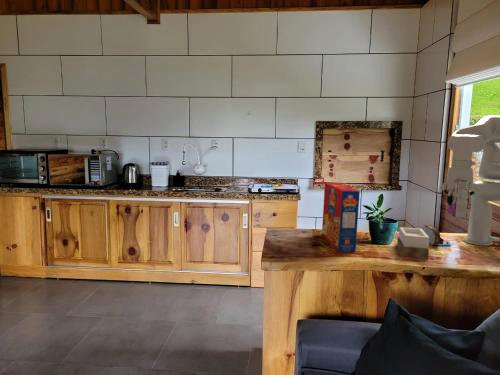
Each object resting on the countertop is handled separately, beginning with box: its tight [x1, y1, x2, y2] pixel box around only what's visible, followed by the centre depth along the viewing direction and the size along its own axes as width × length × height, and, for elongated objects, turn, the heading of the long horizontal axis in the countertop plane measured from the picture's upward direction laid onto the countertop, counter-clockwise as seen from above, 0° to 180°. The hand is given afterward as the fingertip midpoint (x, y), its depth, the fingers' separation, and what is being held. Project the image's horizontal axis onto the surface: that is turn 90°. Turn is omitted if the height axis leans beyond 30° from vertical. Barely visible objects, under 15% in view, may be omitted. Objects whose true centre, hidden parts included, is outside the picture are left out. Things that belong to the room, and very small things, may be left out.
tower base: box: [396, 236, 430, 260], centre depth 173 cm, size 12×18×4 cm, turn 161°
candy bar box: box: [446, 179, 470, 219], centre depth 164 cm, size 11×5×16 cm, turn 168°
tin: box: [422, 224, 441, 246], centre depth 188 cm, size 15×3×8 cm, turn 178°
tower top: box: [398, 226, 430, 249], centre depth 173 cm, size 10×16×5 cm, turn 167°
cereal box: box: [321, 182, 361, 253], centre depth 182 cm, size 28×8×28 cm, turn 4°
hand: (457, 204), depth 165 cm, fingers closed on candy bar box, 5 cm apart
